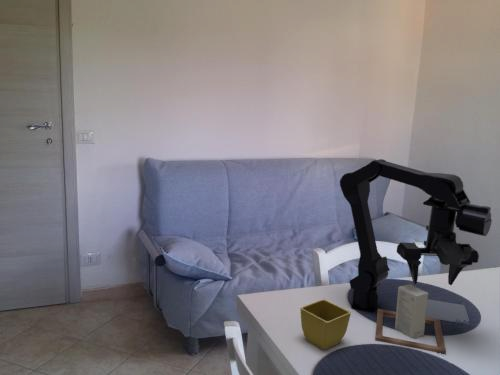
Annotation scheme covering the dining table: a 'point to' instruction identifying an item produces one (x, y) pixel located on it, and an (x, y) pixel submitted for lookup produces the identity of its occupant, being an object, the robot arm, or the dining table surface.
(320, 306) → the flower pot
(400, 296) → the skincare box
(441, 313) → the grey square plate
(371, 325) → the dining table surface
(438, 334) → the walnut holder frame
